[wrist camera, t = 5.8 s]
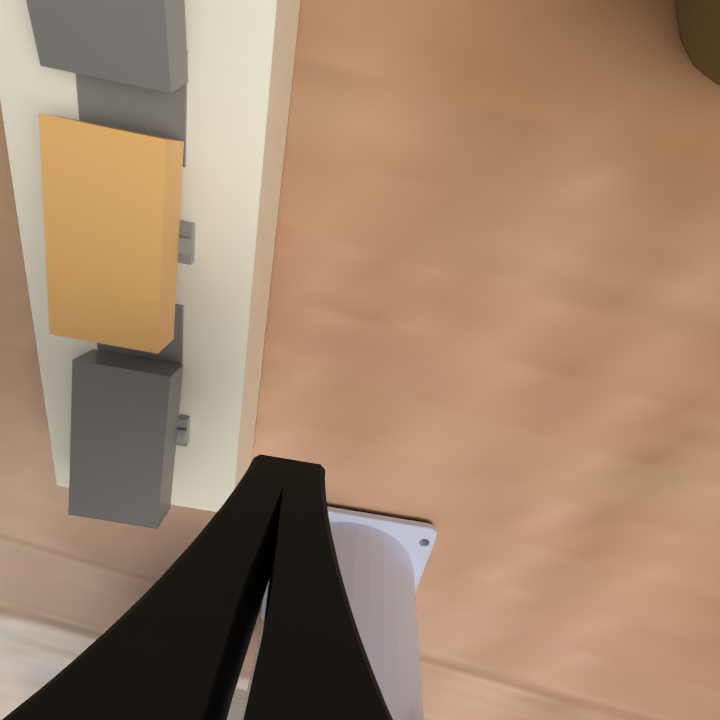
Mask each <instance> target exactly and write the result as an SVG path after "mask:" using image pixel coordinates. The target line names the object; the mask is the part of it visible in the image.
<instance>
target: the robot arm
mask: <svg viewBox="0 0 720 720" xmlns="http://www.w3.org/2000/svg"><path fill="white" fill-rule="evenodd" d="M436 537H437V532H436V528H435V526H434V525H432V524H429V523H424V522H418V521H412V520H406V519H400V518H394V517H388V516H382V515H376V514H370V513H364V512H358V511H352V510H346V509H340V508H334V507H328V506H327V502H326V492H325V469H324V468H323V467H322V466H321V465H319V464H313V463H308V462H302V461H296V460H290V459H284V458H278V457H272V456H266V455H259V456H257V457H255V458H254V459H253V461H252V463H251V465H250V466H249V468H248V470H247V471H246V473H245V474H244V476H243V477H242V479H241V481H240V482H239V483H238V485H237V486H236V488H235V489H234V491H233V492H232V493H231V495H230V496H229V497H228V499H227V500H226V502H225V503H224V504H223V506H222V507H221V508H220V509H219V511H218V512H217V513H216V514H215V516H214V517H213V518H212V519H211V521H210V522H209V523H208V524H207V526H206V527H205V528H204V529H203V531H202V532H201V533H200V534H199V535H198V537H197V538H196V539H195V540H194V541H193V542H192V544H191V545H190V546H189V547H188V548H187V549H186V550H185V551H184V552H183V554H182V555H181V556H180V557H179V558H178V559H177V560H176V561H175V562H174V564H173V565H172V566H171V567H170V568H169V569H168V570H167V571H166V572H165V574H164V575H163V576H162V577H161V578H160V579H159V580H158V581H157V582H156V583H155V584H154V585H153V586H152V587H151V588H150V589H149V590H148V591H147V592H146V593H145V594H144V595H143V596H142V597H141V598H140V599H139V600H138V601H137V602H136V603H135V604H134V605H133V606H132V607H131V608H130V609H129V610H128V611H127V612H126V613H125V614H124V615H123V616H122V617H121V618H120V619H119V620H118V621H117V622H116V623H115V624H114V625H112V626H111V627H110V628H109V629H108V630H107V631H106V632H105V633H104V634H103V635H102V636H100V637H99V638H98V639H97V640H96V641H95V642H94V643H93V644H92V645H90V646H89V647H88V648H87V649H86V650H85V651H84V652H83V653H82V654H80V655H79V656H78V657H77V658H76V659H75V660H74V661H73V662H72V663H70V664H69V665H68V666H67V667H66V668H65V669H63V670H62V671H61V672H60V673H59V674H58V675H56V676H55V677H54V678H53V679H52V680H51V681H49V682H48V683H47V684H46V685H45V686H43V687H42V688H41V689H40V690H39V691H37V692H36V693H35V694H34V695H32V696H31V697H30V698H29V699H27V700H26V701H25V702H24V703H22V704H21V705H20V706H19V707H17V708H16V709H15V710H14V711H12V712H11V713H10V714H9V715H7V716H6V717H5V718H4V719H2V720H226V719H227V716H228V712H229V709H230V705H231V701H232V698H233V694H234V691H235V688H236V685H237V681H238V678H239V675H240V672H241V669H242V665H243V662H244V659H245V656H246V653H247V649H248V646H249V643H250V640H251V636H252V633H253V630H254V627H255V624H256V620H257V617H258V614H259V611H260V607H261V604H262V609H261V616H260V618H261V620H262V621H263V622H262V627H261V631H260V636H259V640H258V645H257V649H256V654H255V658H254V663H253V667H252V672H251V676H250V681H249V685H248V690H247V694H246V699H245V703H244V708H243V713H242V716H241V720H424V714H423V699H422V685H421V670H420V655H419V640H418V626H417V611H416V596H415V592H416V590H417V587H418V584H419V582H420V579H421V576H422V574H423V571H424V568H425V566H426V563H427V560H428V558H429V555H430V553H431V550H432V547H433V545H434V542H435V539H436ZM422 539H426V540H422ZM262 601H263V602H262Z"/></svg>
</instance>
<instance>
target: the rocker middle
mask: <svg viewBox="0 0 720 720" xmlns="http://www.w3.org/2000/svg"><path fill="white" fill-rule="evenodd" d="M39 131H40V151H41V172H42V192H43V213H44V234H45V254H46V275H47V295H48V316H49V334H51V335H57V336H62V337H68V338H74V339H79V340H85V341H90V342H96V343H101V344H107V345H112V346H118V347H123V348H129V349H134V350H140V351H145V352H151V353H157V354H158V353H159V352H160V351H161V350H163V349H164V348H165V347H166V346H167V345H168V344H169V343H170V342H171V341H172V340H173V339H174V321H175V302H176V283H177V264H178V245H179V226H180V207H181V188H182V169H183V150H184V141H179V140H174V139H169V138H164V137H160V136H155V135H150V134H145V133H140V132H135V131H130V130H126V129H121V128H116V127H111V126H106V125H101V124H96V123H92V122H87V121H82V120H77V119H72V118H67V117H60V116H53V115H46V114H39Z"/></svg>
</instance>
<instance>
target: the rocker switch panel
mask: <svg viewBox="0 0 720 720" xmlns="http://www.w3.org/2000/svg"><path fill="white" fill-rule="evenodd" d="M184 2H185V23H186V44H187V65H188V83H186V84H184V85H183V86H181V87H180V88H178V89H177V90H175V91H174V92H172V93H167V92H162V91H158V90H153V89H148V88H143V87H139V86H134V85H129V84H124V83H120V82H115V81H110V80H105V79H101V78H96V77H91V76H87V75H82V74H77V73H72V72H68V71H63V70H58V69H53V68H49V67H44V66H40V61H39V57H38V52H37V48H36V43H35V39H34V34H33V29H32V25H31V20H30V16H29V11H28V7H27V2H26V0H0V101H1V108H2V115H3V121H4V128H5V135H6V142H7V149H8V155H9V162H10V169H11V176H12V183H13V189H14V196H15V203H16V210H17V217H18V223H19V230H20V237H21V244H22V251H23V258H24V264H25V271H26V278H27V285H28V292H29V298H30V305H31V312H32V319H33V326H34V332H35V339H36V346H37V353H38V360H39V366H40V373H41V380H42V387H43V394H44V400H45V407H46V414H47V421H48V428H49V434H50V441H51V448H52V455H53V462H54V468H55V475H56V482H57V486H61V487H67V488H69V478H70V437H71V396H72V360H73V359H75V358H76V357H78V356H80V355H82V354H84V353H86V352H88V351H90V350H92V349H95V350H101V351H106V352H112V353H117V354H123V355H128V356H134V357H139V358H145V359H151V360H156V361H162V362H167V363H173V364H178V365H183V376H182V387H181V397H180V408H179V419H178V429H177V440H176V451H175V462H174V472H173V483H172V494H171V505H177V506H183V507H189V508H195V509H201V510H208V511H214V512H218V511H219V509H220V508H221V507H222V506H223V504H224V503H225V502H226V500H227V499H228V497H229V496H230V495H231V493H232V492H233V491H234V489H235V488H236V486H237V485H238V483H239V482H240V481H241V479H242V477H243V476H244V474H245V473H246V471H247V470H248V468H249V465H250V462H251V460H252V453H253V444H254V435H255V425H256V416H257V406H258V397H259V388H260V378H261V369H262V359H263V350H264V341H265V331H266V322H267V312H268V303H269V293H270V284H271V275H272V265H273V256H274V246H275V237H276V228H277V218H278V209H279V199H280V190H281V180H282V171H283V162H284V152H285V143H286V133H287V124H288V115H289V105H290V96H291V86H292V77H293V68H294V58H295V49H296V39H297V30H298V20H299V11H300V2H301V0H184ZM39 114H46V115H53V116H60V117H67V118H72V119H77V120H82V121H87V122H92V123H96V124H101V125H106V126H111V127H116V128H121V129H126V130H130V131H135V132H140V133H145V134H150V135H155V136H160V137H164V138H169V139H174V140H179V141H184V150H183V169H182V188H181V207H180V226H179V245H178V264H177V283H176V302H175V321H174V339H173V340H172V341H171V342H170V343H169V344H168V345H167V346H166V347H165V348H164V349H163V350H161V351H160V352H159V353H158V354H157V353H151V352H145V351H140V350H134V349H129V348H123V347H118V346H112V345H107V344H101V343H96V342H90V341H85V340H79V339H74V338H68V337H62V336H57V335H51V334H49V316H48V295H47V275H46V254H45V234H44V213H43V192H42V172H41V151H40V131H39Z"/></svg>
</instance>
